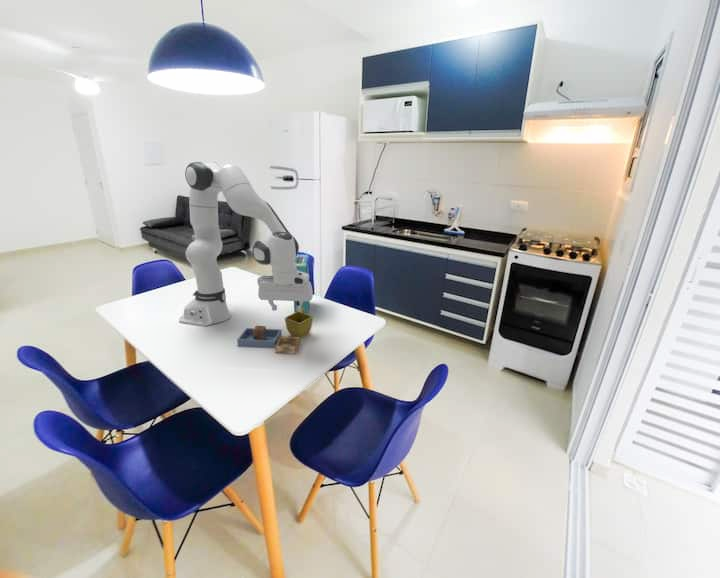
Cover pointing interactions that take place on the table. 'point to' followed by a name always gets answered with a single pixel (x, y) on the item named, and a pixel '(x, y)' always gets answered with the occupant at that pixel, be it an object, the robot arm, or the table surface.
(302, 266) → the game box
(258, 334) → the walnut block
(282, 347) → the wooden serving tray
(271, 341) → the blue tray
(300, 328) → the flower pot
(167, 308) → the table surface
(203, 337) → the table surface
